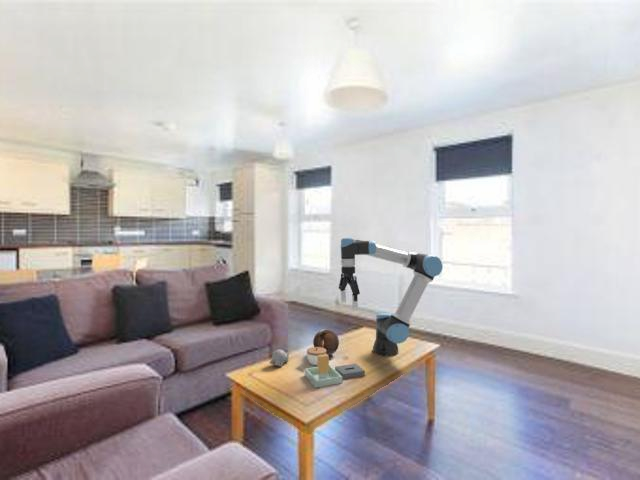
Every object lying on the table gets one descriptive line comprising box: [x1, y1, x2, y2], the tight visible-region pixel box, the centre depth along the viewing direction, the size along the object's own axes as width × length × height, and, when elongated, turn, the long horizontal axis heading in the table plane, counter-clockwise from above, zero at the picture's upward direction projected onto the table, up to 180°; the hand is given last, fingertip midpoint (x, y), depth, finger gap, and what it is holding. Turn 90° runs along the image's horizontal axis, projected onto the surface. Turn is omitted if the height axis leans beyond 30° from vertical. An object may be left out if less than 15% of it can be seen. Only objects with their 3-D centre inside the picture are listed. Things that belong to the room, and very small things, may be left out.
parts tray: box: [304, 364, 343, 389], centre depth 178 cm, size 14×16×4 cm
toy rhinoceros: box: [269, 348, 290, 368], centre depth 197 cm, size 7×12×8 cm, turn 140°
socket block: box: [334, 363, 366, 380], centre depth 185 cm, size 12×10×3 cm
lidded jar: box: [306, 346, 326, 366], centre depth 198 cm, size 11×11×9 cm
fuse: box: [316, 354, 330, 380], centre depth 178 cm, size 5×3×12 cm, turn 111°
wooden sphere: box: [312, 328, 340, 357], centre depth 212 cm, size 15×15×15 cm
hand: (349, 304), depth 199 cm, fingers open, 13 cm apart
